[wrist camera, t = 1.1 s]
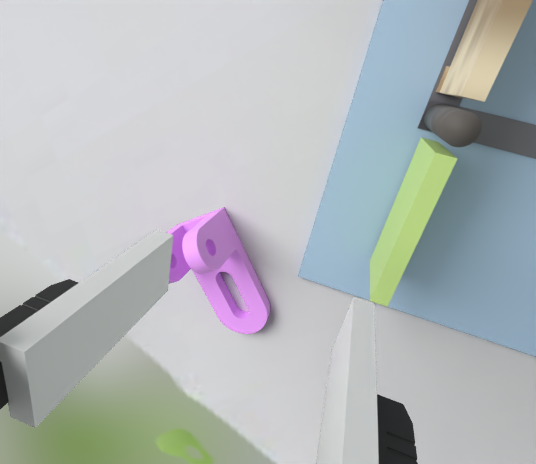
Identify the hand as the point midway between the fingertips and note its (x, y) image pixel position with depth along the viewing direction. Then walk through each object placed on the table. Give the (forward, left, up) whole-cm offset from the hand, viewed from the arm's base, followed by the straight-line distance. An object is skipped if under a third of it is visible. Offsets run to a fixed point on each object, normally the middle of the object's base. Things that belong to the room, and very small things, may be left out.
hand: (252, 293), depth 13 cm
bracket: (+12, -6, -17) cm, 22 cm away
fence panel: (0, +7, -16) cm, 18 cm away
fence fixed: (-12, +7, -17) cm, 22 cm away
